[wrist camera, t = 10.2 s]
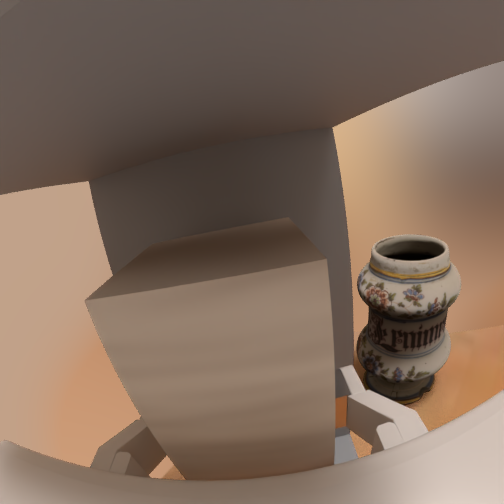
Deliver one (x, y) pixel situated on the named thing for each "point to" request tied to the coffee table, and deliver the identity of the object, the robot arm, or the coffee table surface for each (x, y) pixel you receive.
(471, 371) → the coffee table surface
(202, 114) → the grey podium
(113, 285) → the block
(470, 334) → the coffee table surface
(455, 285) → the apothecary jar
